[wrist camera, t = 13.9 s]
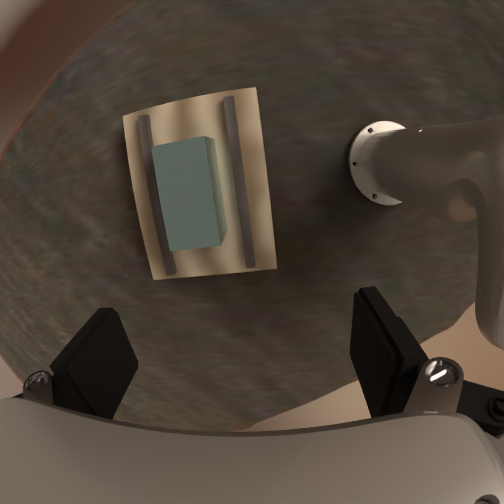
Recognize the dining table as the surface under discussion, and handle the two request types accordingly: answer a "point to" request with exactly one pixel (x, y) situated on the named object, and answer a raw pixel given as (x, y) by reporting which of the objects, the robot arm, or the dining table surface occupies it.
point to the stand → (231, 178)
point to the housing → (190, 193)
